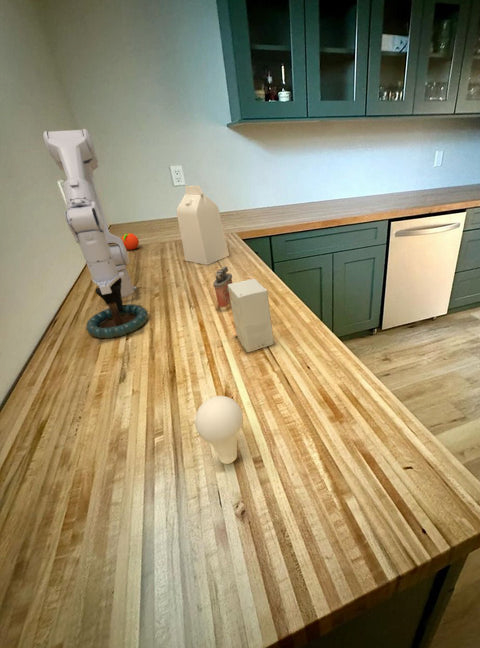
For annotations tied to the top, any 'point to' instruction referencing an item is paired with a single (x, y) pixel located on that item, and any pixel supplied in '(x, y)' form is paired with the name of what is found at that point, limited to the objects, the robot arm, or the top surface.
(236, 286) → the small box
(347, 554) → the top surface
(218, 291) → the lighter
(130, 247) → the clementine
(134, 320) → the ring
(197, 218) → the milk
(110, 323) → the stand
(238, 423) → the lightbulb
